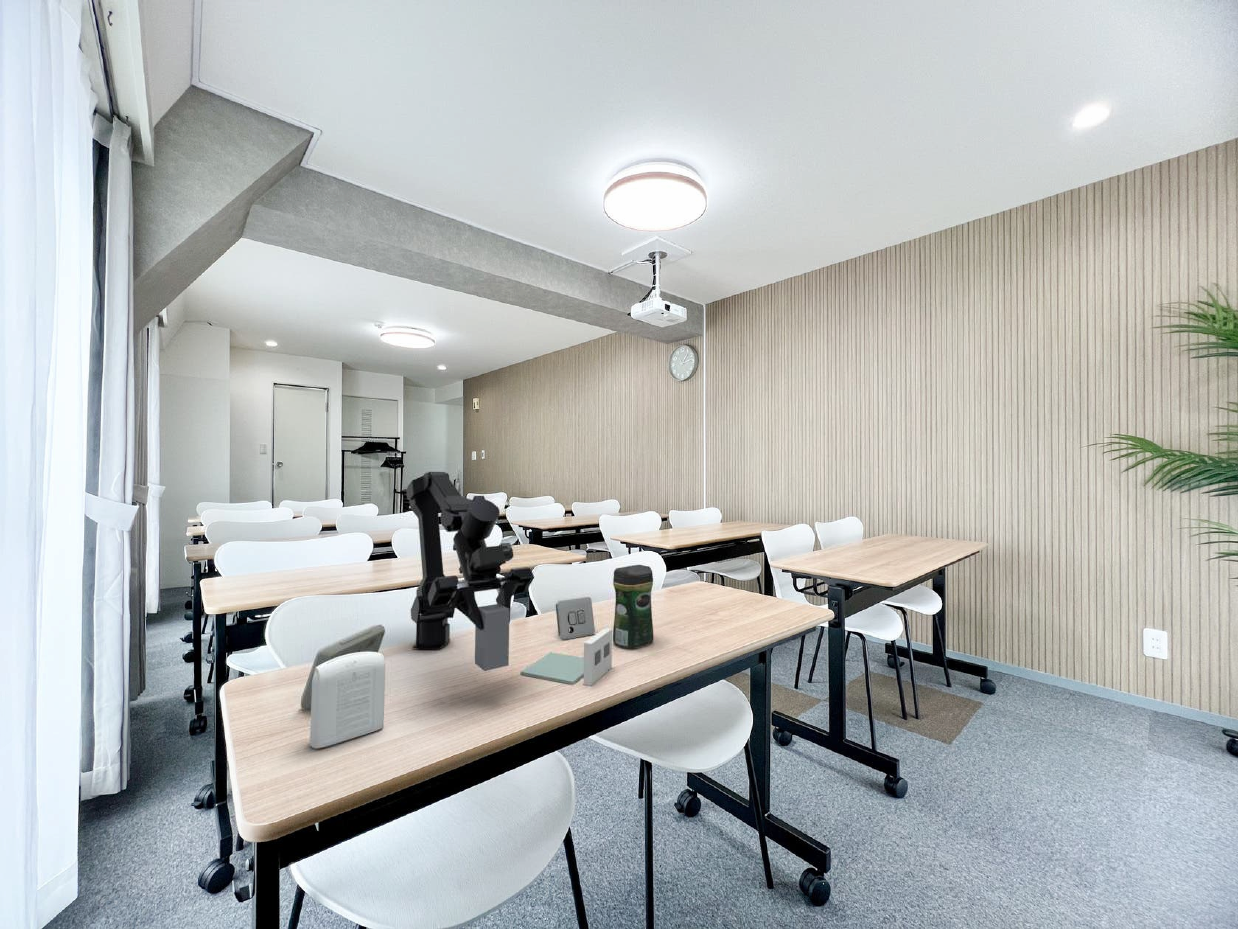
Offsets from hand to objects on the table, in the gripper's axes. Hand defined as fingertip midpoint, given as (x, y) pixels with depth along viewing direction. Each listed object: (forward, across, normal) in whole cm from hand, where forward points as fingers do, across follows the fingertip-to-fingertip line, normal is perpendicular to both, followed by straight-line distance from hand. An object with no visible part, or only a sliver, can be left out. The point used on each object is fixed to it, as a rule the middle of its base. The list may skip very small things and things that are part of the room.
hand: (495, 626), depth 89 cm
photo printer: (+8, -22, +12) cm, 26 cm away
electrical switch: (-7, +31, +26) cm, 41 cm away
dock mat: (+5, +17, +14) cm, 23 cm away
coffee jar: (+3, +39, +17) cm, 43 cm away
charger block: (+4, 0, +6) cm, 7 cm away
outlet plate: (+10, +22, +9) cm, 26 cm away
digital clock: (-4, -20, +24) cm, 32 cm away
